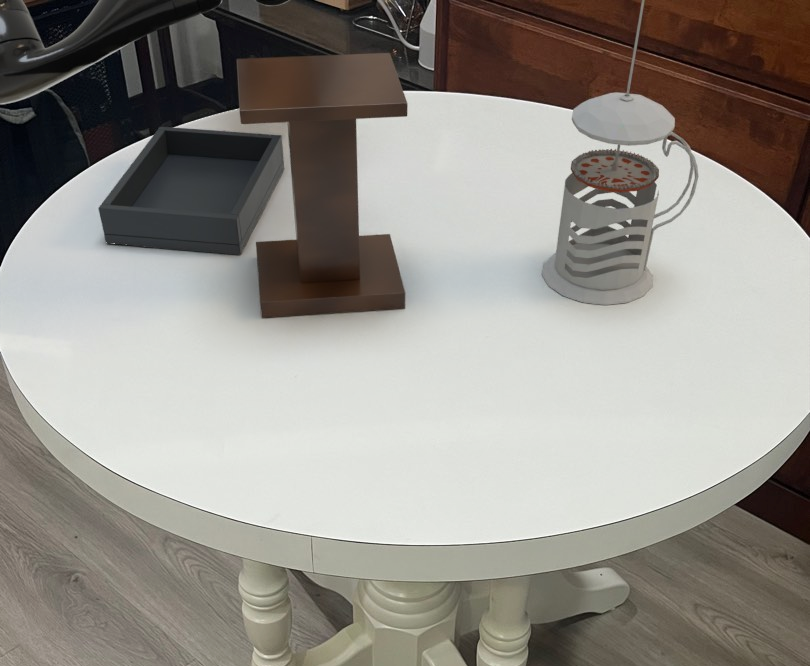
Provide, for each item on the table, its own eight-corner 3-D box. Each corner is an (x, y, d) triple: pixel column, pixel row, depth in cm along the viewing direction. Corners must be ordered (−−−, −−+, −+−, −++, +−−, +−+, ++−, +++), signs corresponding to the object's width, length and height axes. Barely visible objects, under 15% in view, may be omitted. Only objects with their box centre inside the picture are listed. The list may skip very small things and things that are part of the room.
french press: (536, 246, 91) (572, -64, 73) (662, 247, 91) (729, -62, 73) (547, 304, 84) (589, -23, 66) (683, 305, 84) (762, -20, 66)
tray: (240, 255, 89) (236, 218, 87) (105, 244, 90) (97, 208, 88) (284, 168, 102) (282, 134, 99) (165, 160, 103) (159, 126, 100)
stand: (261, 318, 82) (239, 110, 70) (257, 256, 89) (236, 58, 77) (405, 308, 83) (407, 102, 71) (389, 248, 90) (389, 52, 78)
